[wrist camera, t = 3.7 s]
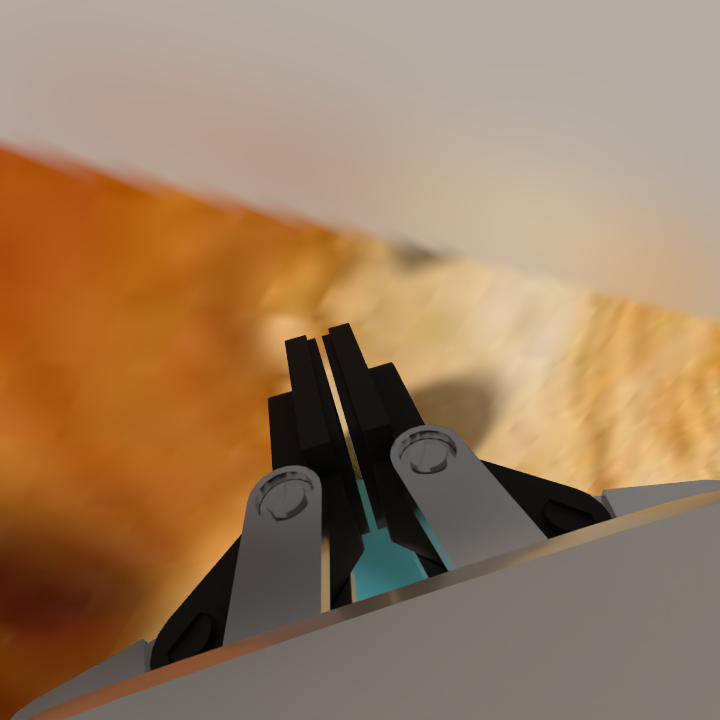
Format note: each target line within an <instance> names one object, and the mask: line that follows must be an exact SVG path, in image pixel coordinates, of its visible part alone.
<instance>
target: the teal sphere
mask: <svg viewBox="0 0 720 720" xmlns="http://www.w3.org/2000/svg"><path fill="white" fill-rule="evenodd" d="M356 481H357V485H358V489H359V492H360V496H361V500H362V503H363V507H364V511H365V514H366V518H367V521H368V525H369V529H370V533H367V534H364V535H362V539H363V543H364V547H365V550H364V552H363V554H362V555H361V557H360V559H359V560H358V562H357V564H356V565H355V567H354V568H353V570H354V575H355V579H356V595H357V602H358V601H361V600H364V599H367V598H370V597H373V596H376V595H379V594H382V593H385V592H388V591H391V590H394V589H397V588H400V587H403V586H406V585H409V584H412V583H415V582H418V581H421V580H424V577H423V575H422V574H421V572H420V570H419V568H418V566H417V564H416V562H415V561H414V558H413V555H412V552H411V550H409V549H407V548H404V547H402V546H400V545H398V544H396V543H393V541H391V539H390V536H389V533H388V529H387V527H386V528H383V529H379V530H378V529H377V525H376V522H375V518H374V515H373V511H372V508H371V505H370V501H369V498H368V494H367V491H366V487H365V484H364V481H363V479H356Z"/></svg>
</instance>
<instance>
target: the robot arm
mask: <svg viewBox="0 0 720 720" xmlns="http://www.w3.org/2000/svg"><path fill="white" fill-rule="evenodd" d="M328 330H329V334H328V335H324V336H322V339H323V342H324V346H325V349H326V353H327V356H328V360H329V363H330V367H331V370H332V374H333V377H334V381H335V384H336V388H337V391H338V395H339V398H340V402H341V405H342V409H343V412H344V415H345V419H346V422H347V426H348V429H349V433H350V436H351V440H352V443H353V446H354V450H355V453H356V457H357V460H358V464H359V467H360V470H361V474H362V477H363V481H364V484H365V487H366V491H367V494H368V498H369V501H370V505H371V508H372V511H373V515H374V518H375V522H376V525H377V529H378V530H379V529H383V528H386V527H387V529H388V533H389V536H390V539H391V541H393V543H396V544H398V545H400V546H402V547H404V548H407V549H409V550H411V552H412V555H413V558H414V561H415V562H416V564H417V566H418V568H419V570H420V572H421V574H422V575H423V577H424V580H421V581H418V582H415V583H412V584H409V585H406V586H403V587H400V588H397V589H394V590H391V591H388V592H385V593H382V594H379V595H376V596H373V597H370V598H367V599H364V600H361V601H358V602H357V595H356V579H355V575H354V570H353V568H354V567H355V565H356V564H357V562H358V560H359V559H360V557H361V555H362V554H363V552H364V550H365V547H364V543H363V539H362V535H364V534H367V533H370V529H369V525H368V521H367V518H366V514H365V511H364V507H363V503H362V500H361V496H360V492H359V489H358V485H357V481H356V478H355V474H354V470H353V467H352V463H351V459H350V456H349V452H348V449H347V445H346V441H345V438H344V434H343V430H342V427H341V423H340V420H339V416H338V413H337V410H336V406H335V403H334V399H333V396H332V393H331V389H330V386H329V383H328V379H327V376H326V373H325V369H324V366H323V362H322V359H321V356H320V352H319V349H318V346H317V342H316V339H315V338H314V339H310V340H307V337H306V335H304V336H300V337H297V338H293V339H290V340H286V341H285V346H286V353H287V360H288V366H289V373H290V380H291V387H292V391H290V392H287V393H284V394H280V395H277V396H273V397H270V398H269V399H268V409H269V424H270V438H271V453H272V468H273V471H272V472H271V473H269V474H267V475H266V476H264V477H263V478H262V479H261V480H260V481H259V482H258V483H257V484H256V485H255V487H254V488H253V490H252V491H251V493H250V496H249V499H248V501H247V507H246V513H245V518H244V524H243V530H242V534H241V535H240V537H239V538H238V539H237V540H236V541H235V542H234V544H233V545H232V546H231V547H230V548H229V549H228V551H227V552H226V553H225V554H224V555H223V557H222V558H221V559H220V560H219V561H218V562H217V564H216V565H215V566H214V567H213V568H212V569H211V571H210V572H209V573H208V574H207V575H206V576H205V578H204V579H203V580H202V581H201V582H200V583H199V585H198V586H197V587H196V588H195V589H194V590H193V592H192V593H191V594H190V595H189V596H188V597H187V599H186V600H185V601H184V602H183V603H182V605H181V606H180V607H179V608H178V609H177V610H176V612H175V613H174V614H173V615H172V616H171V617H170V619H169V620H168V621H167V623H166V624H165V625H164V627H163V628H162V630H161V631H160V633H159V634H158V637H157V638H156V639H154V640H152V641H151V642H149V643H147V642H146V641H145V640H144V639H142V640H140V641H138V642H136V643H135V644H133V645H131V646H129V647H128V648H126V649H124V650H122V651H120V652H119V653H117V654H115V655H113V656H111V657H110V658H108V659H106V660H104V661H102V662H101V663H99V664H97V665H95V666H93V667H92V668H90V669H88V670H86V671H85V672H83V673H81V674H79V675H77V676H76V677H74V678H72V679H70V680H68V681H67V682H65V683H63V684H61V685H59V686H58V687H56V688H54V689H52V690H51V691H49V692H47V693H45V694H43V695H42V696H40V697H38V698H36V699H34V700H33V701H31V702H30V703H29V704H27V705H26V706H25V707H23V708H22V709H20V710H19V711H18V712H17V713H16V714H15V715H14V716H13V717H12V718H11V719H10V720H720V480H699V481H689V482H679V483H668V484H658V485H648V486H638V487H628V488H618V489H608V490H603V492H602V496H594V497H592V496H591V495H589V494H587V493H585V492H583V491H580V490H578V489H575V488H572V487H569V486H565V485H562V484H559V483H556V482H552V481H549V480H546V479H542V478H539V477H536V476H533V475H529V474H526V473H523V472H519V471H516V470H513V469H509V468H506V467H503V466H500V465H496V464H493V463H490V462H486V461H483V460H480V459H478V457H477V456H476V455H475V454H474V453H473V452H472V450H471V449H470V448H469V447H468V446H467V445H466V443H465V442H464V441H463V440H462V439H461V438H460V437H459V436H458V435H457V434H456V433H455V432H453V431H452V430H450V429H447V428H445V427H442V426H436V425H425V424H424V422H423V420H422V418H421V416H420V414H419V412H418V411H417V409H416V407H415V405H414V403H413V401H412V399H411V397H410V395H409V393H408V391H407V389H406V387H405V385H404V383H403V382H402V380H401V378H400V376H399V374H398V372H397V370H396V368H395V366H394V364H393V363H392V362H390V363H387V364H383V365H380V366H377V367H373V368H370V369H368V367H367V365H366V363H365V360H364V358H363V356H362V353H361V351H360V348H359V346H358V344H357V341H356V339H355V336H354V334H353V332H352V329H351V327H350V325H349V323H346V324H343V325H339V326H336V327H332V328H329V329H328Z"/></svg>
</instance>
